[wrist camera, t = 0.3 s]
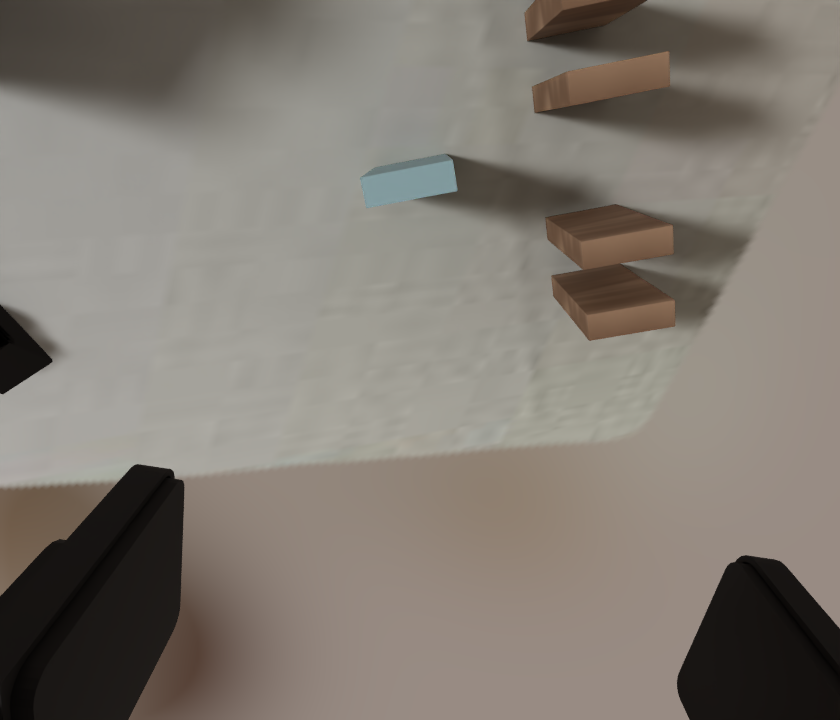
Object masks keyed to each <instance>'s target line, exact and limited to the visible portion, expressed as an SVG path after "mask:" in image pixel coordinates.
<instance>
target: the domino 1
mask: <svg viewBox="0 0 840 720" xmlns="http://www.w3.org/2000/svg"><path fill="white" fill-rule="evenodd" d="M360 180H361V185H362V189H363V194H364V199H365V204H366V208H370V207H375V206H381V205H386V204H391V203H396V202H402V201H407V200H412V199H418V198H423V197H428V196H433V195H439V194H444V193H449V192H455V191H458V190H457V184H456V178H455V171H454V165H453V160H452V159H451V158H450V157H449V156H448V155H447V154H442V155H437V156H432V157H427V158H422V159H416V160H411V161H406V162H401V163H396V164H391V165H386V166H380V167H375V168H373V169H372V170H371V171H369V172H368V173H366V174H365V175H363V176H362V177H361V178H360Z"/></svg>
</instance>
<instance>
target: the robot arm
mask: <svg viewBox="0 0 840 720" xmlns="http://www.w3.org/2000/svg"><path fill="white" fill-rule="evenodd" d="M183 512H184V482H183V481H182V480H178V479H175V477H174V472H173V471H172V470H171V469H166V468H159V467H153V466H146V465H139V464H137V465H134V466H133V467H131V468H130V469H129V471H128V472H127V473H126V474H125V475H124V476H123V477H122V478H121V480H120V481H119V482H118V483H117V484H116V485H115V486H114V487H113V488H112V490H111V491H110V492H109V493H108V494H107V495H106V496H105V497H104V499H103V500H102V501H101V502H100V503H99V504H98V505H97V507H96V508H95V509H94V510H93V511H92V512H91V513H90V514H89V515H88V516H87V518H86V519H85V520H84V521H83V522H82V523H81V524H80V525H79V526H78V528H77V529H76V530H75V531H74V532H73V533H72V534H71V535H70V536H69V538H68V539H67V540H61V539H59V540H57V541H54V542H52V543H51V544H50V545H49V546H47V547H46V548H45V549H44V550H43V551H42V552H41V553H40V554H39V556H37V558H36V559H35V560H34V561H33V562H32V563H31V564H30V565H29V566H28V567H27V568H26V569H25V571H24V572H23V573H22V574H21V575H20V576H19V577H18V578H17V579H16V580H15V581H14V582H13V583H12V584H11V586H10V587H9V588H8V589H7V590H6V591H5V592H4V593H3V594H2V595H1V596H0V720H128V719H129V717H130V715H131V713H132V711H133V709H134V707H135V705H136V703H137V701H138V699H139V697H140V695H141V693H142V691H143V689H144V687H145V685H146V684H147V682H148V679H149V678H150V676H151V674H152V672H153V670H154V668H155V666H156V664H157V662H158V660H159V658H160V656H161V654H162V652H163V650H164V648H165V646H166V644H167V642H168V640H169V638H170V636H171V634H172V632H173V630H174V628H175V625H176V622H177V619H178V616H179V611H180V596H181V568H182V540H183ZM677 689H678V694H679V697H680V700H681V702H682V704H683V706H684V708H685V711H686V713H687V715H688V717H689V719H690V720H840V629H839V627H838V626H837V625H836V624H835V623H834V622H833V620H832V619H831V618H830V617H829V616H828V615H827V613H826V612H825V611H824V610H823V609H822V608H821V606H820V605H819V604H818V603H817V602H816V601H815V600H814V598H813V597H812V596H811V595H810V594H809V593H808V592H807V590H806V589H805V588H804V587H803V586H802V585H801V583H800V582H799V581H798V580H797V579H796V577H795V576H794V575H793V574H792V573H791V572H790V571H789V569H788V568H787V567H786V566H785V565H784V564H783V563H782V562H780V561H777V560H774V559H767V558H760V557H754V556H747V555H745V556H741V557H739V558H738V559H737V560H736V562H733V563H730V564H729V565H728V566H727V568H726V569H725V572H724V574H723V576H722V578H721V580H720V583H719V585H718V587H717V589H716V591H715V594H714V596H713V598H712V600H711V603H710V605H709V607H708V609H707V612H706V614H705V616H704V618H703V620H702V623H701V625H700V627H699V629H698V632H697V634H696V636H695V638H694V641H693V643H692V645H691V647H690V650H689V652H688V654H687V656H686V658H685V661H684V663H683V665H682V667H681V670H680V672H679V675H678V680H677Z"/></svg>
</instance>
